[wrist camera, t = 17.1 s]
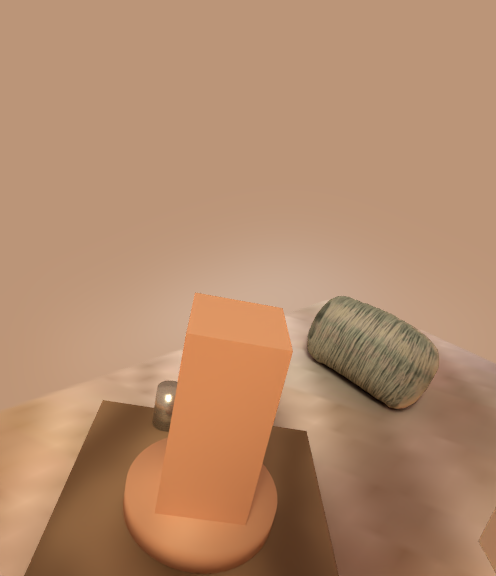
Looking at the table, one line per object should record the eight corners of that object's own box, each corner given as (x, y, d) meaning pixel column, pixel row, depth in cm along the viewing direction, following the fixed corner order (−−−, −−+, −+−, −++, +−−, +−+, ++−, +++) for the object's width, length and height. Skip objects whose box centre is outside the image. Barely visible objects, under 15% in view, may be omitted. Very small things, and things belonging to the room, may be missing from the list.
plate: (301, 446, 37) (306, 431, 37) (347, 672, 22) (355, 652, 22) (101, 416, 36) (102, 400, 35) (5, 638, 21) (6, 616, 20)
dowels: (257, 427, 36) (265, 395, 35) (258, 445, 34) (267, 412, 33) (154, 412, 35) (159, 378, 34) (150, 429, 33) (155, 394, 32)
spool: (277, 327, 49) (343, 259, 47) (317, 348, 57) (375, 289, 55) (358, 430, 41) (443, 351, 39) (393, 438, 48) (465, 373, 46)
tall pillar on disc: (267, 461, 33) (311, 300, 28) (278, 583, 24) (343, 381, 20) (139, 442, 32) (164, 274, 27) (104, 562, 23) (133, 346, 19)
